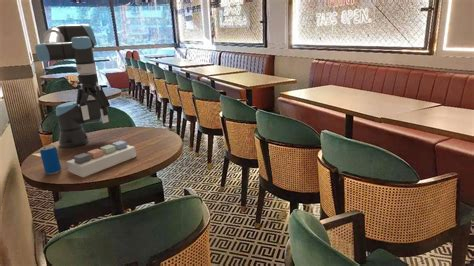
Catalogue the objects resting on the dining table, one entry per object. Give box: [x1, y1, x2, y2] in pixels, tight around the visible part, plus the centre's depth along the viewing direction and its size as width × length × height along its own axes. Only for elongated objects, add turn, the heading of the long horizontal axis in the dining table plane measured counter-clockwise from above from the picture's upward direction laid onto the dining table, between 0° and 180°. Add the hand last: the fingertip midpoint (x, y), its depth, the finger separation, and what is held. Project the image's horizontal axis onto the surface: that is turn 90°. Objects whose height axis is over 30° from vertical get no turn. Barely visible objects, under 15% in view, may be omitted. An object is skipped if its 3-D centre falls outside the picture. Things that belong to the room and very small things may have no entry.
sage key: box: [99, 144, 116, 155], centre depth 158 cm, size 5×5×3 cm
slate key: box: [111, 140, 128, 150], centre depth 163 cm, size 5×5×3 cm
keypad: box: [66, 144, 137, 178], centre depth 156 cm, size 12×28×5 cm, turn 143°
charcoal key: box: [73, 152, 91, 164], centre depth 148 cm, size 5×5×3 cm
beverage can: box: [39, 144, 62, 175], centre depth 148 cm, size 6×6×12 cm
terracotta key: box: [87, 148, 104, 159], centre depth 153 cm, size 5×5×3 cm
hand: (95, 121), depth 150 cm, fingers open, 13 cm apart
